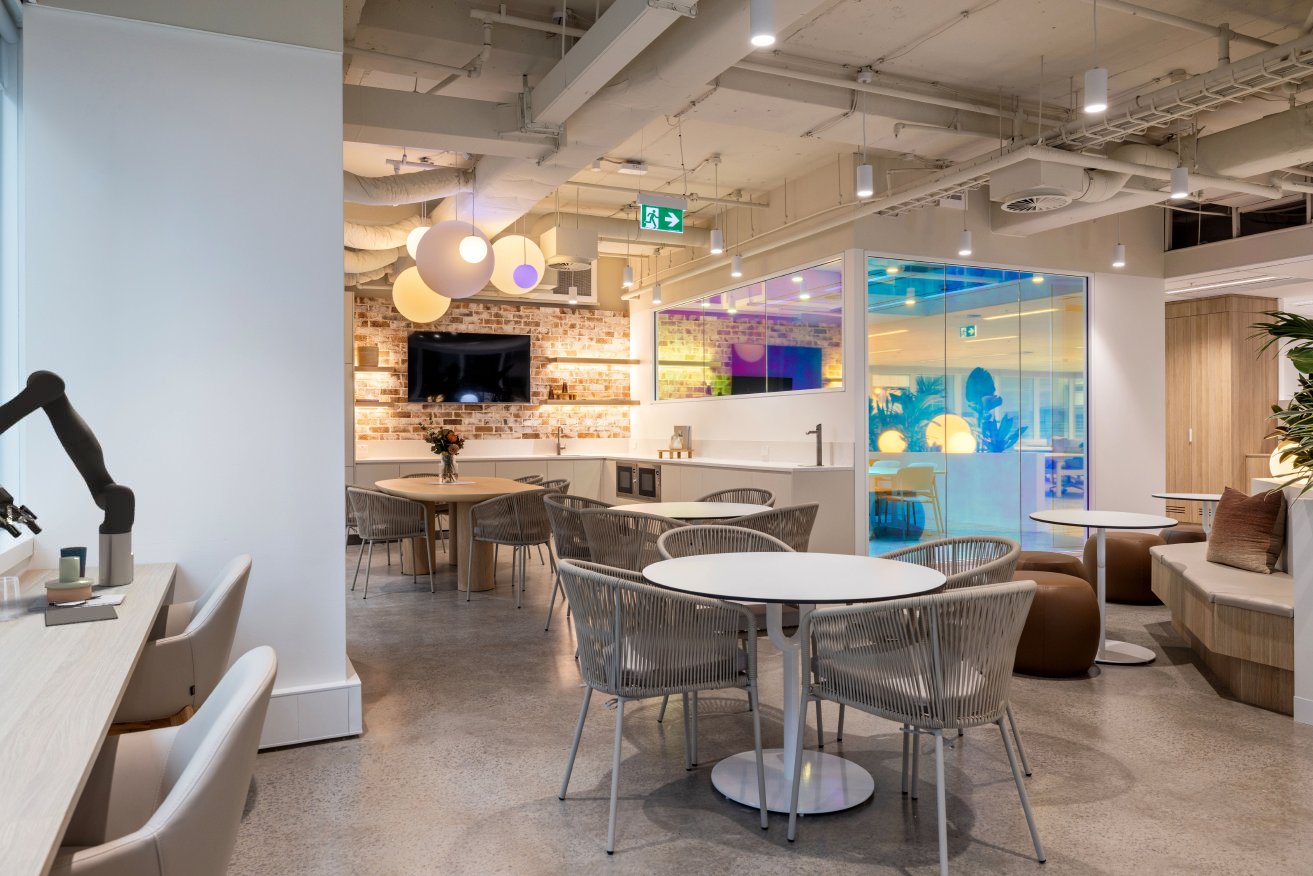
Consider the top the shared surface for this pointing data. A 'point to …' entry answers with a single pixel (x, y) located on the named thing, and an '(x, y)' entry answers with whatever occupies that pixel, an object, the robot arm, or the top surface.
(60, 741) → the top surface
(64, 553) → the cup
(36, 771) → the top surface
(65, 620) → the mat
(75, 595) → the bowl
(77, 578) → the lid
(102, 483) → the robot arm
